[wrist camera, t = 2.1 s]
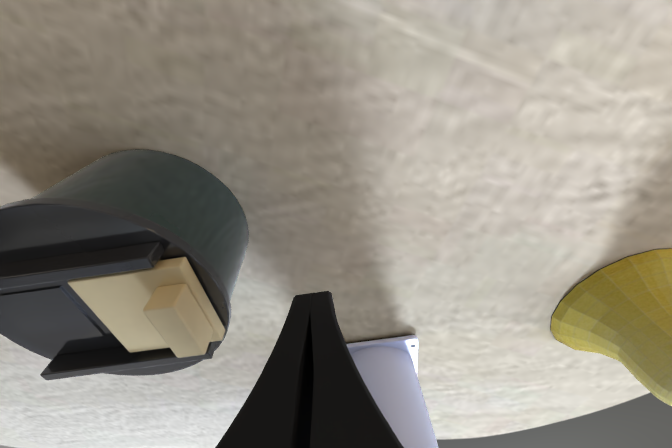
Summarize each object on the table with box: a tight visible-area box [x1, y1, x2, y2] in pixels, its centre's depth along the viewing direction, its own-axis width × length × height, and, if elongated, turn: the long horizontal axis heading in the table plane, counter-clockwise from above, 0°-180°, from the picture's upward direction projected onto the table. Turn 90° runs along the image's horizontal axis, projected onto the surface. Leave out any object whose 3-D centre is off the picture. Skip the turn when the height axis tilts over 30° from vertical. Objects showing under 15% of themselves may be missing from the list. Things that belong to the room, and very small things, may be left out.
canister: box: [0, 149, 249, 380], centre depth 15 cm, size 11×11×8 cm
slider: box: [68, 257, 225, 358], centre depth 12 cm, size 4×5×2 cm
